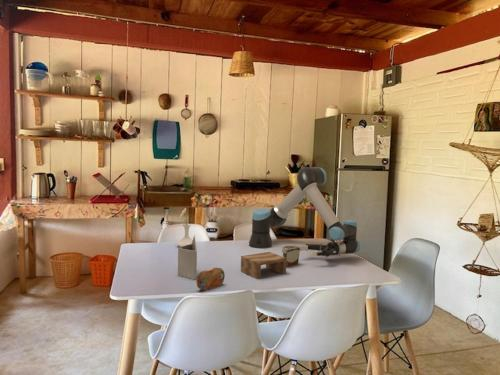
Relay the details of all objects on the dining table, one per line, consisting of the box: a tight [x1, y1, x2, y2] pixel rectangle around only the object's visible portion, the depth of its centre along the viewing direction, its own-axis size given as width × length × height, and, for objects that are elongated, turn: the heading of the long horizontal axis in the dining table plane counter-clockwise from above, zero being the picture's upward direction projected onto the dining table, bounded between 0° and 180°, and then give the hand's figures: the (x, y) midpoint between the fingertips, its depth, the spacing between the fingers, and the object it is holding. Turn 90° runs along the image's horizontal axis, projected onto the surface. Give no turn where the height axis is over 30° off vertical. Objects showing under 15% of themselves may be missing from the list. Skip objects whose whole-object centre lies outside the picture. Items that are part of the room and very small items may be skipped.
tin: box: [195, 267, 226, 291], centre depth 177 cm, size 15×3×8 cm, turn 138°
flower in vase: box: [177, 207, 193, 247], centre depth 250 cm, size 13×11×25 cm
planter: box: [177, 235, 198, 280], centre depth 194 cm, size 16×8×19 cm, turn 15°
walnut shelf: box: [240, 251, 287, 280], centre depth 202 cm, size 14×18×8 cm
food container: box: [281, 245, 301, 269], centre depth 217 cm, size 12×6×10 cm, turn 134°
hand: (304, 251), depth 220 cm, fingers open, 13 cm apart
